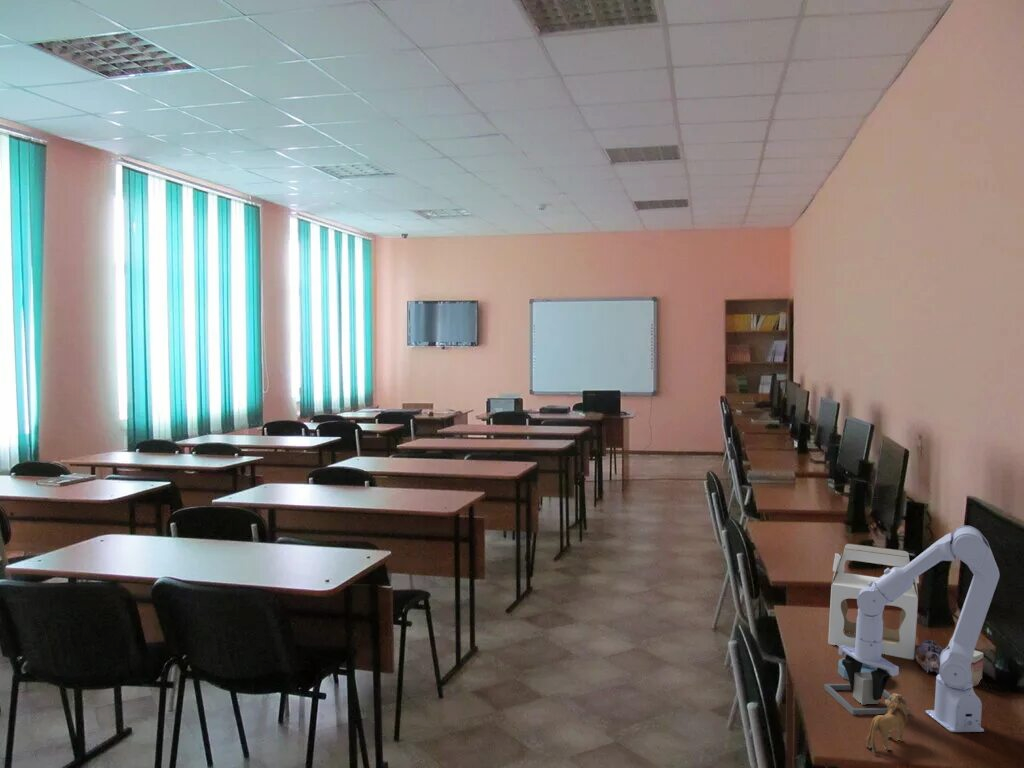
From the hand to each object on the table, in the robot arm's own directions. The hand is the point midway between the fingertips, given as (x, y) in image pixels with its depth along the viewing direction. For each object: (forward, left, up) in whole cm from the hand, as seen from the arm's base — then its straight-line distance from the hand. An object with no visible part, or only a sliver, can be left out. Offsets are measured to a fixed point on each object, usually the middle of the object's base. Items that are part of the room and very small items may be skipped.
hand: (865, 694), depth 188 cm
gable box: (+35, -21, -2) cm, 41 cm away
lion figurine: (-19, +6, -2) cm, 20 cm away
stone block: (0, 0, -2) cm, 2 cm away
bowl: (+14, -7, -2) cm, 16 cm away
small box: (+10, -33, -2) cm, 35 cm away
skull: (+19, -28, -2) cm, 34 cm away
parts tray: (0, 0, -2) cm, 2 cm away
